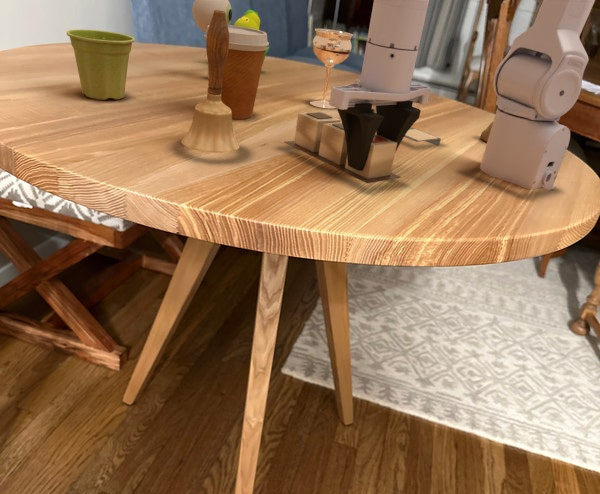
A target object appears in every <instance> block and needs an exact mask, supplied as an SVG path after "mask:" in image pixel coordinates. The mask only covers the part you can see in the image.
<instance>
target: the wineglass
mask: <svg viewBox="0 0 600 494" xmlns="http://www.w3.org/2000/svg"><path fill="white" fill-rule="evenodd" d="M314 32H315V36H314V38H313V40H312V50H313V53H314V55H315V57H316V58H317V59H318V60H319V61H320V62H321V63H323V64H324V67H325V68H326V69H325V78H324V88H323V96H322V97H323V98H322V99H319V100H312V101H310V102H309V105H311V106H314V107H317V108H321V109H337V108H336V107H333V106H331V105H329V103H330V101H328V100H327V99H326V98H327V92H328V88H329V82H330V76H331V71H332V69H333V68H334V67H335V66H336V65H338V64H339V65H340V64H341V63H343V62H344V61H345V60H346V59H348V58H349V56H350V54H351V52H352V46H353V45H352V40H351V39H352V38H353V36H354V34H352V33H350V32H346V31H342V30H336V29H329V28H314Z"/></svg>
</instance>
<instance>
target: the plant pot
mask: <svg viewBox="0 0 600 494" xmlns="http://www.w3.org/2000/svg"><path fill="white" fill-rule="evenodd" d="M66 35H67V36H68V37H69V40H70V44H71V47H72V49H73V51H74V52H73V53H74V57H75V61H76V62H75V63H76V68H77V72H78V77H79V81H80V87H81V92H82V94H83V95H85V97H87V98H90V99H97V100H101V101H103V100H108V99H113V100H116V101H117V100H121V99H123V98H125V95H126V85H127V84H126V83H127V74H128V67H129V59H130V53H131V51H132V45H133V43H134V42H135V39H136V38H135V37H133V36H130V35H128V34H123V33H119V32H114V31H109V30H108V31H107V30H97V29H68V30H66Z"/></svg>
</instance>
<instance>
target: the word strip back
mask: <svg viewBox="0 0 600 494" xmlns="http://www.w3.org/2000/svg"><path fill="white" fill-rule="evenodd" d="M412 107H415V108H417V103H413V104H412ZM372 109H374V113H376V114H377V112H376V106H372ZM404 138H406V139H408V140H411V141H413V142H415V143H419V142H427V143H429V144H432V145H434V146H439V145H440V144H441V141H442V138H441V137H438V136H436V135H433V134H430V133H428V132H425V131H422V130H419V129H417V128H414V127H412V126H411V128H410V129H409V130H408V132H407V133H406V134H405V136H404Z"/></svg>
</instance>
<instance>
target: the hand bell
mask: <svg viewBox="0 0 600 494" xmlns="http://www.w3.org/2000/svg"><path fill="white" fill-rule="evenodd" d="M205 47H206V57H207V63H208V62H209V79H208V81H207V82H208V83H207V86H208V87H207V93H206V99H205V100H204V101H201V102H199V103H197V104H195V106H194V112H193V116H192V120H191V124H190V128H189V130H188V131H187V133H186V134H185V136H184V137H183V138H182V139H181V144H182V145H183V146H185V147H187V148H188V149H191V150H195V151H198V152H203V153H212V154H213V153H214V154H225V153H232V152H235V151H238V150H239V149H240V148H241V145H240V143H239V142H238V140H237V138H236V135H235V132H234V126H233V119H232V111H231V109H230V108H229V107H227V106H226V105H225V104H223V103H222V101H221V93H222V89H221V88H222V73H223V67H224V64H225V62H226V59H227V55H228V49H229V30H228V25H227V21H226V13H225V11H220V10H214V13H213V17H212V20H211V23H210V25H209V28H208V32H207V40H206V42H205Z"/></svg>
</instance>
